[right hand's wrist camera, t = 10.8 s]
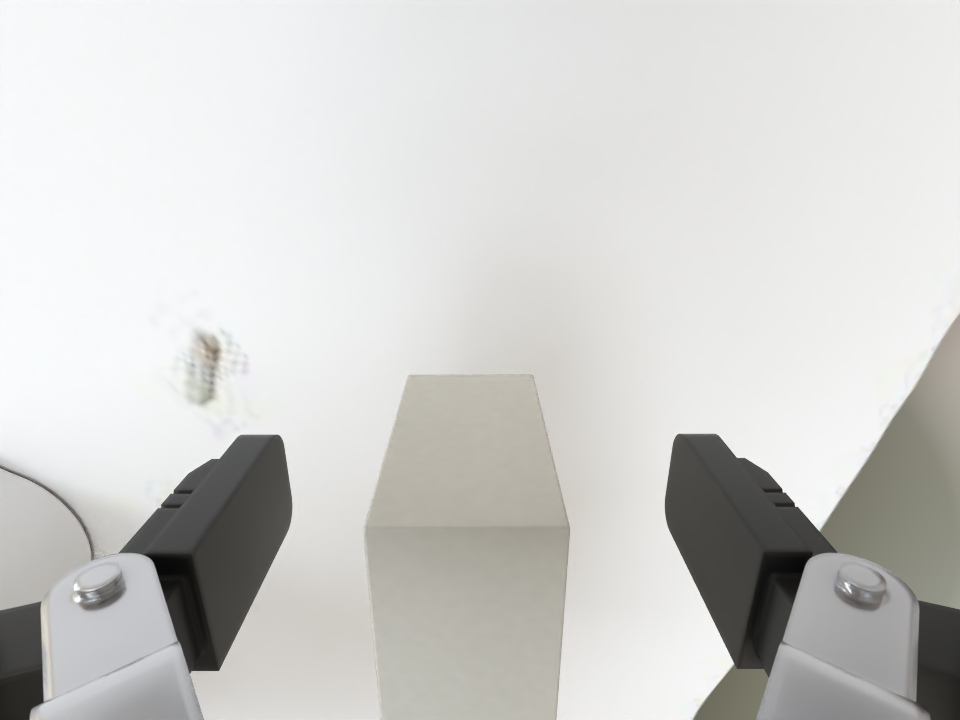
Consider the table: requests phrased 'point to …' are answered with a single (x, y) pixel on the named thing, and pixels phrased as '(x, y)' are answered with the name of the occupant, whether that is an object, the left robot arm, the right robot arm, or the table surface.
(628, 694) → the table surface
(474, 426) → the bar
